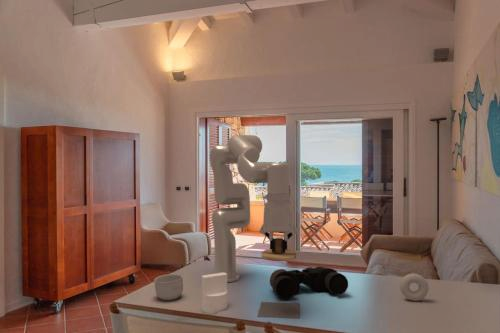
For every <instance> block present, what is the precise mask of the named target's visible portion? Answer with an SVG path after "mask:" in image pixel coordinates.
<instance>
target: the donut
mask: <svg viewBox="0 0 500 333" xmlns="http://www.w3.org/2000/svg"><path fill="white" fill-rule="evenodd" d="M399 283H400V284H399V289H400V293H401V294H402V296H404V298H406V299H408V300H409V301H412V302H413V301H414V302H419V301H421V300H423V299H424V298H426V297H427V295H428V293H429V288H430V287H429V284H428V281H427V280H426V279H425V278H424V276H422V275H420V274H419V273H413V272H412V273H408V274H406V275H404V276H403V277H402V278H401V280H400V282H399ZM412 284H416V285H418V289H417V290H415V291H414V290H412V289H410V288H411V287H410V286H411V285H412Z"/></svg>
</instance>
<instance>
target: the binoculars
mask: <svg viewBox="0 0 500 333" xmlns="http://www.w3.org/2000/svg"><path fill="white" fill-rule="evenodd" d="M301 284H303V285H304V286H310V287H311V288H312V289H314V290H315V291H316V292H317V293H321V294H323V293H324V294H325V293H332V294H334V295H336V296H337V295H338V296H339V295H343V294H345V292H347V290H348V288H349V281H348V278H347V277H346V276H345V274H342V273H341V272H338V271H337V270H336V269H334V268H331V267H326V266H317V267H310V266H309V267H306V268H305V269H304V268H303V269H302V270H299V269H293V270H286V269H284V268H279V269H276V270H274V271H273V272H272V273H271V275H270V277H269V285H270V287H271V289H272V291H274V294H275V295H277V296H278V298H281V299H282V300H290V299H291V298H293V297H294V296H296V295H298V294H299V292H300V290H301Z"/></svg>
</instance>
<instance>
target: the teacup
mask: <svg viewBox="0 0 500 333" xmlns="http://www.w3.org/2000/svg"><path fill="white" fill-rule="evenodd" d="M183 278H184V276H183V275H182V274H179V273H175V272H170V273H168V274H162V275H159V276H157V277H156V278H154V279H153V280H154V289H155V290H154V291H155V294H156V296H157V298H159V299H160V300H162V301H173V300H176V299H177V298H179V297H180V296H181V295H182V293H183V291H184V283H183V281H184V280H183Z"/></svg>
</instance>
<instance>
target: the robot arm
mask: <svg viewBox="0 0 500 333" xmlns="http://www.w3.org/2000/svg"><path fill="white" fill-rule="evenodd" d="M262 149H263V142H262V140H261V138H260V137H258V136H257V135H251V134H237V135H235V134H234V135H232V136H231V137H230V138H228V141H227V144H225V143H224V144H217V145H214V146H213V147H212V148H211V149H210V152H209V163H210V166H211V170H212V173H213V189H214V190H213V192H214V193H213V194H214V200H215V203H216V204H217V205H220V206H222V205H223V206H225V205H226V206H227V205H230V206H231V205H236V206H235V207H222V208H217V209H216V210H214V211H213V212H212V213H211V214H212V215H211V222H212V227H213V236H214V237H213V239H214V274H216V273H223V272H224V273H226V274H227V283H234V282H237V281H238V280H240V277H241V276H240V274H239V273H237V255H236V254H237V251H236V249H237V247H236V246H237V245H236V244H237V243H236V242H237V241H236V237H235V235H234V234H233V233H232V231H231V230H234V229H242V228H244V229H245V228H247V227H248V226H249V225H250V223H251V200H250V198H251V197H250V196H251V195H250V191H249V188H248V186H247V185H246V184H244V183H241V182H240V183H239V182H237V183H234V181H233V179H234V178H233V177H234V176H233V172H232V170H231V168H230V166H228V165H229V164H230V165H235V164H236V165H237V166H236V168H237V172H238V174H239V176H240V177H241V178H242V179H243V180H244V181H246V183H249V184H266V186H267V187H266V189H267V190H266V193H265V194H263V195H262V199H263V200H266V202H265V203H264V207H263V208H264V209H263V220H262V221H263V222H262V225H261V227H260V229H259V233H260V234H262V235H264V236H265V237H266V238H267V239H268V240H269V250H272V252H274V238H275V237H274V234H275V233H282V234H283V252H284V253H285V250H288V240H290V238H291V237H292V236H294V235H296V234H298V233H299V230H298V228H297V227H296V224H295V223H294V213H293V212H294V211H293V205H292V202H291V201H290V166H289V164H288V163H287V162H276V161H275V162H274V161H270V162H269V161H267V162H266V161H264V162H262V161H261V162H260V161H259V159H260V153H261V152H262Z"/></svg>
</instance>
